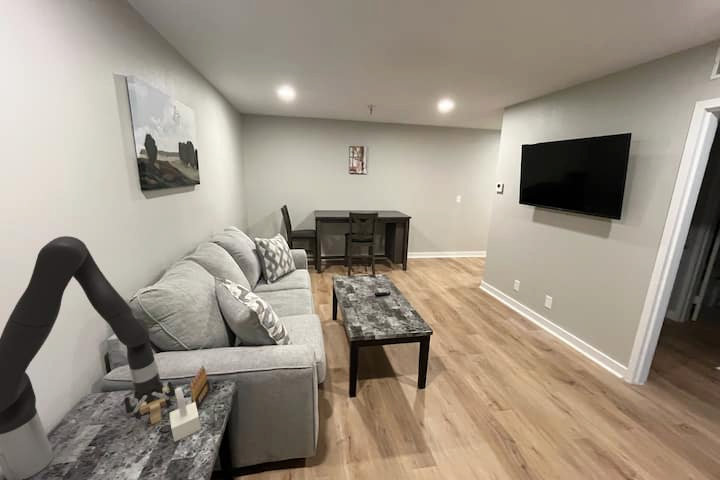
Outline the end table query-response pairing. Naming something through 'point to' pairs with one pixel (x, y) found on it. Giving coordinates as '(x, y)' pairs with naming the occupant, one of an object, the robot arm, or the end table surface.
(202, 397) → the ammunition clip
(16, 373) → the robot arm
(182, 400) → the ring stand
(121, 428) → the end table surface
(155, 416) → the oak link
